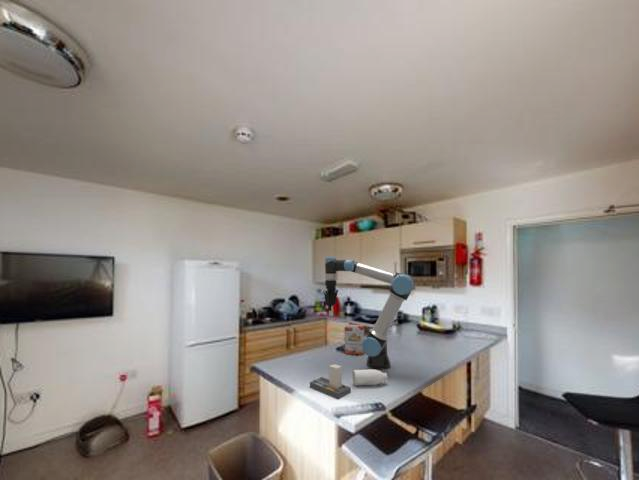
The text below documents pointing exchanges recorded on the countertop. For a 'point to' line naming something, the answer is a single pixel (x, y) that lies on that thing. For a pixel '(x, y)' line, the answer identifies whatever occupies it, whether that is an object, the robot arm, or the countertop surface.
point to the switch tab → (335, 376)
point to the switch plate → (329, 388)
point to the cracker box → (354, 339)
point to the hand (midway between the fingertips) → (331, 315)
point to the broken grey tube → (368, 377)
